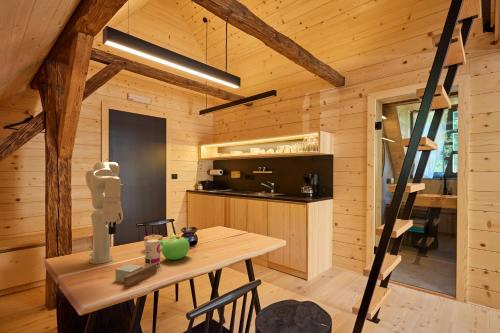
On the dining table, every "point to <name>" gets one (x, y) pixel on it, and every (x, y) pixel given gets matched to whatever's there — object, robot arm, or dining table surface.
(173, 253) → the green round body
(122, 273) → the brick
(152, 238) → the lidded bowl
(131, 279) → the fence
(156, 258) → the supplement can
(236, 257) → the dining table surface
